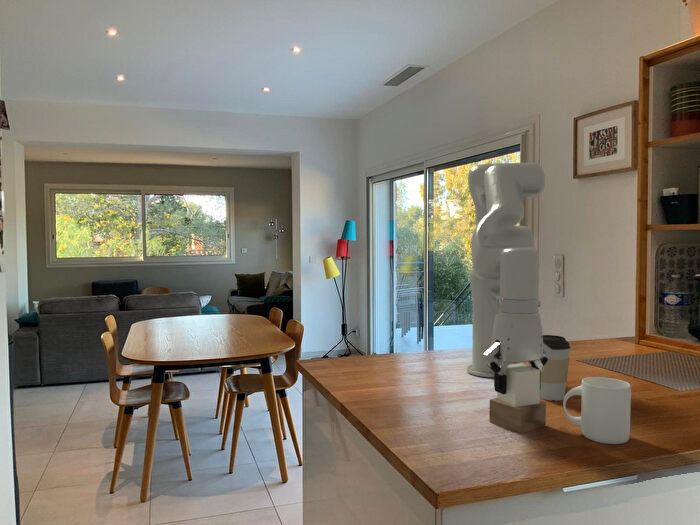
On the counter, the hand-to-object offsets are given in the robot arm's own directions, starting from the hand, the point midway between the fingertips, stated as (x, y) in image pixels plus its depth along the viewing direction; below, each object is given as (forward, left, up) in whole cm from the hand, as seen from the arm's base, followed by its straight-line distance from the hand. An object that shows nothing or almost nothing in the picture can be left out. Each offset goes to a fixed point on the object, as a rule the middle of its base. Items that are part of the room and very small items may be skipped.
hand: (517, 390), depth 111 cm
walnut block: (0, 0, -7) cm, 7 cm away
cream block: (0, 0, -2) cm, 2 cm away
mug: (-10, +11, -7) cm, 17 cm away
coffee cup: (-20, -13, -7) cm, 25 cm away
